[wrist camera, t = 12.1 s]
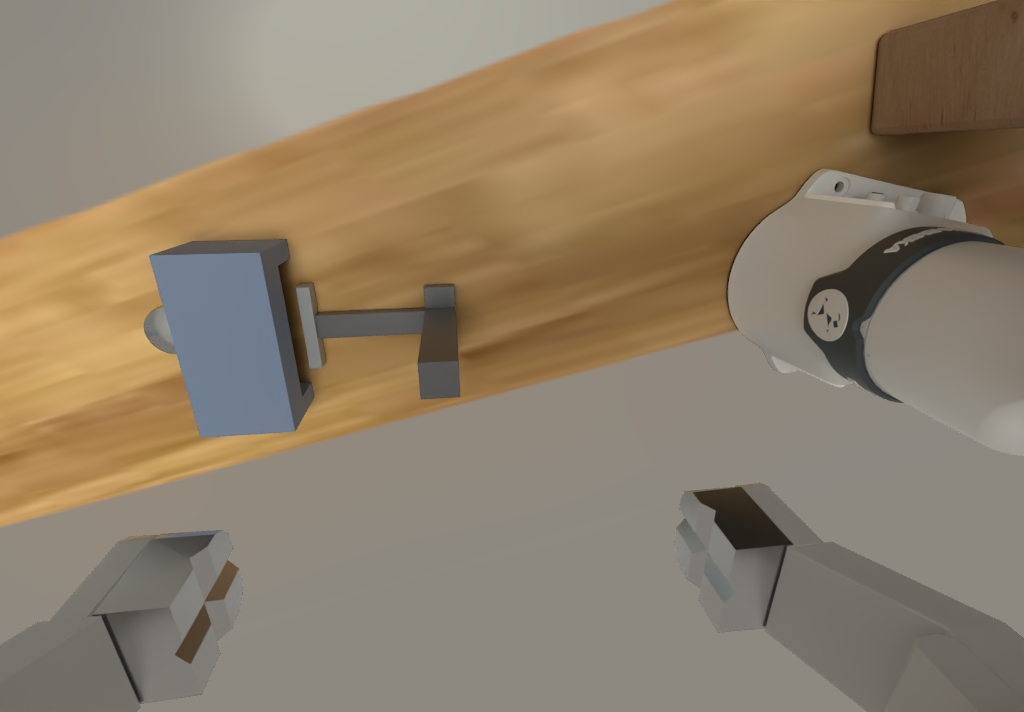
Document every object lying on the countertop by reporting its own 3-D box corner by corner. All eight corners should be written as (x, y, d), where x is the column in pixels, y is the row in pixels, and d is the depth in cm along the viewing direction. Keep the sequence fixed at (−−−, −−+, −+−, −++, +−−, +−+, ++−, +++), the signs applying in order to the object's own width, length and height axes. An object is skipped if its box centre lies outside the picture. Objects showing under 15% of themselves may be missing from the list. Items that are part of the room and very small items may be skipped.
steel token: (197, 302, 40) (190, 306, 39) (209, 348, 41) (203, 352, 40) (144, 305, 39) (137, 308, 39) (158, 350, 41) (151, 355, 40)
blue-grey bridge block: (286, 239, 39) (259, 252, 33) (314, 397, 44) (295, 431, 38) (192, 241, 38) (148, 255, 32) (232, 401, 43) (200, 437, 38)
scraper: (453, 278, 41) (456, 326, 29) (457, 354, 44) (461, 427, 32) (300, 283, 40) (238, 336, 28) (314, 361, 43) (262, 441, 31)
